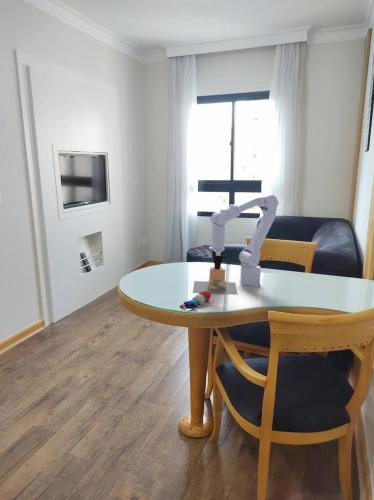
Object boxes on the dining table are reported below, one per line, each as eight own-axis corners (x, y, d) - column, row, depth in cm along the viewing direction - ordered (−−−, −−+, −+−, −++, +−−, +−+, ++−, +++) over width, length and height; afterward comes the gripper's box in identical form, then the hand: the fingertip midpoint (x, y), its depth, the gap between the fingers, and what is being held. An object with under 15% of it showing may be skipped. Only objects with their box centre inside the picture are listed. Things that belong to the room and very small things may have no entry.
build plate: (235, 283, 176) (235, 282, 176) (237, 295, 160) (237, 294, 160) (194, 281, 177) (194, 281, 177) (192, 293, 161) (192, 292, 161)
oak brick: (225, 284, 172) (225, 276, 171) (225, 289, 166) (226, 281, 165) (208, 284, 172) (208, 276, 171) (208, 288, 167) (208, 280, 166)
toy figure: (191, 316, 143) (216, 300, 152) (189, 304, 141) (215, 290, 150) (178, 311, 148) (204, 296, 157) (176, 300, 147) (202, 286, 156)
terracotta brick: (224, 277, 170) (224, 267, 169) (224, 280, 166) (225, 270, 165) (209, 277, 170) (209, 266, 169) (209, 279, 167) (209, 269, 165)
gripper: (209, 234, 172) (208, 262, 176) (209, 241, 158) (208, 271, 162) (224, 235, 172) (223, 262, 175) (225, 242, 158) (224, 271, 161)
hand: (217, 266), depth 168 cm, fingers open, 7 cm apart
